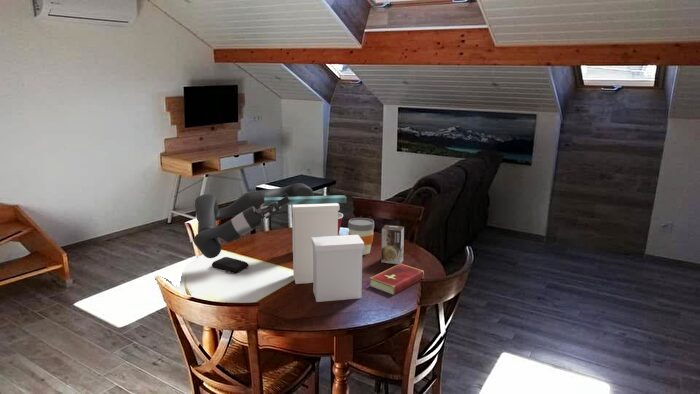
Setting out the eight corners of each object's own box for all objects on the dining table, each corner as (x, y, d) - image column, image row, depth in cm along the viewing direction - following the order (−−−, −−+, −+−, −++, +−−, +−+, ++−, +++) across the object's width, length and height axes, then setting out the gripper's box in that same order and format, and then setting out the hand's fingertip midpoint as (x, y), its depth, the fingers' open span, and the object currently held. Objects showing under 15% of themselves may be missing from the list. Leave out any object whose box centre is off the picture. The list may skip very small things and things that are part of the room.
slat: (264, 205, 169) (264, 200, 169) (264, 202, 173) (264, 197, 172) (346, 202, 175) (346, 197, 174) (344, 200, 179) (344, 195, 178)
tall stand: (294, 284, 188) (293, 207, 180) (292, 274, 197) (290, 200, 189) (338, 281, 191) (339, 205, 184) (334, 271, 201) (334, 199, 193)
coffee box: (403, 260, 215) (405, 226, 211) (400, 265, 209) (401, 230, 205) (384, 257, 218) (385, 224, 214) (380, 262, 212) (381, 228, 208)
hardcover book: (423, 279, 195) (424, 270, 194) (393, 296, 180) (394, 286, 179) (399, 271, 203) (400, 262, 202) (369, 287, 187) (369, 277, 186)
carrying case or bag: (207, 269, 202) (233, 276, 195) (207, 262, 201) (232, 269, 194) (225, 261, 211) (250, 268, 204) (225, 255, 210) (250, 261, 203)
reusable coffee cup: (360, 245, 233) (361, 216, 230) (379, 251, 225) (380, 221, 221) (342, 251, 225) (342, 221, 221) (360, 258, 216) (361, 227, 213)
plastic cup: (320, 239, 241) (320, 216, 238) (324, 232, 252) (324, 211, 249) (341, 240, 239) (341, 218, 237) (344, 234, 250) (345, 212, 247)
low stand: (315, 302, 173) (315, 246, 167) (311, 291, 182) (311, 237, 177) (363, 298, 176) (364, 243, 171) (357, 287, 186) (358, 234, 181)
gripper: (241, 218, 163) (283, 193, 164) (242, 207, 177) (281, 184, 178) (252, 235, 166) (294, 210, 166) (252, 223, 179) (291, 200, 180)
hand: (287, 197), depth 172 cm, fingers closed on slat, 4 cm apart
